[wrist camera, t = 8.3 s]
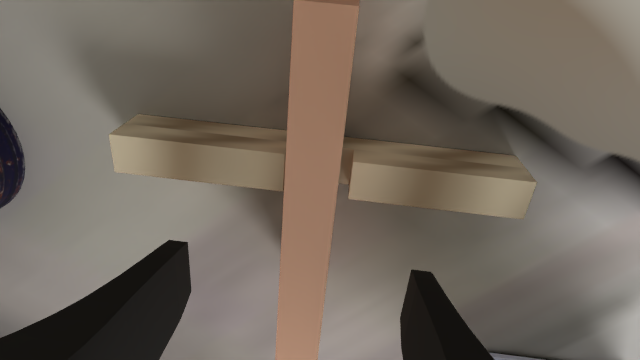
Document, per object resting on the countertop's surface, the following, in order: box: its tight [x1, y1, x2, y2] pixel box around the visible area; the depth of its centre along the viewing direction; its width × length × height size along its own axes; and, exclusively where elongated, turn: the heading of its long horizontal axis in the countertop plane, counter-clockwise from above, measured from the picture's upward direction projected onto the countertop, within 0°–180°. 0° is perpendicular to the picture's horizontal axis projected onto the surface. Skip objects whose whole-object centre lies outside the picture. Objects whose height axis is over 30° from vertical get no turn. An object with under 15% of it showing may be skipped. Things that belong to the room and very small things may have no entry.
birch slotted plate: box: [109, 114, 537, 219], centre depth 21 cm, size 20×2×3 cm, turn 85°
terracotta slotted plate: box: [275, 0, 359, 360], centre depth 20 cm, size 16×2×7 cm, turn 175°
